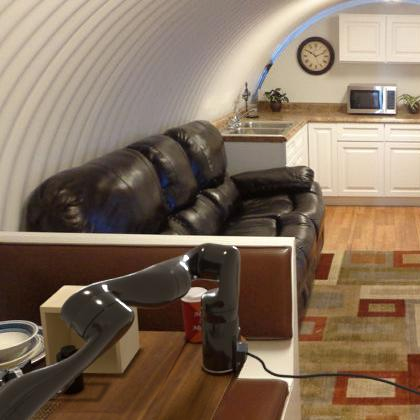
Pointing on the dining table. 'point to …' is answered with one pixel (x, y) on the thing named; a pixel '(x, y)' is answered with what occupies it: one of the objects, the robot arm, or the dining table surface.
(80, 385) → the pepper mill
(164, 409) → the dining table surface
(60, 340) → the cream hollow block
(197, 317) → the paper cup
